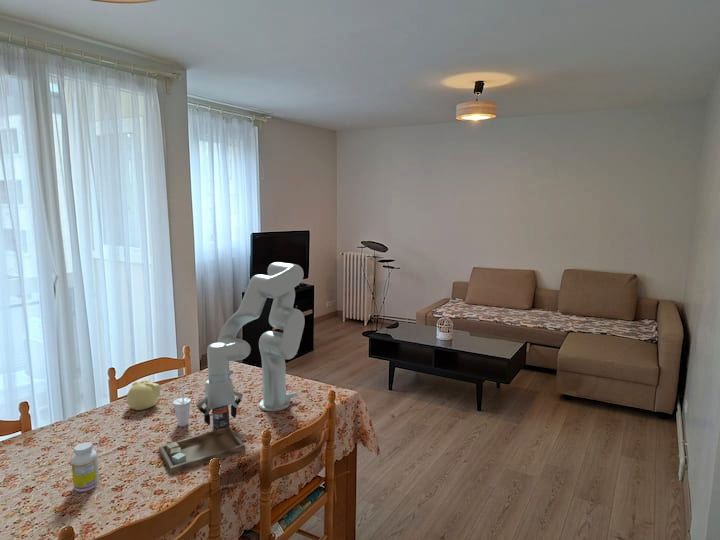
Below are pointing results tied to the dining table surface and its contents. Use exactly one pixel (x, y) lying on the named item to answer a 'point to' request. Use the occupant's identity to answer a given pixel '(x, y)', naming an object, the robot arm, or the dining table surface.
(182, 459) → the block
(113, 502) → the dining table surface
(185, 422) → the smoothie
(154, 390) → the pale yellow round lump
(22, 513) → the dining table surface
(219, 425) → the supplement bottle
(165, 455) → the tray
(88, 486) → the supplement bottle
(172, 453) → the block
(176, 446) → the block
